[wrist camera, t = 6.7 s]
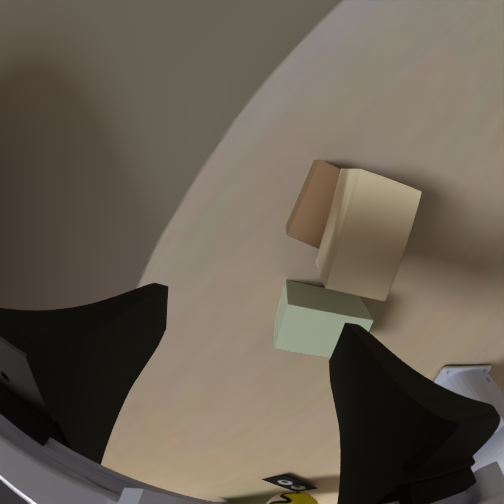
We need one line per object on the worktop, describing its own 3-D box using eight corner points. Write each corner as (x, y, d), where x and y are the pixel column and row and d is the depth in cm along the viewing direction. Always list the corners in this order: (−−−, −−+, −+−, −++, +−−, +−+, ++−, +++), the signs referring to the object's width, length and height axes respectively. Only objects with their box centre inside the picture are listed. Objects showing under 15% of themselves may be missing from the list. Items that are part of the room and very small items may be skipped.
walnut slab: (396, 203, 18) (413, 209, 16) (368, 261, 20) (381, 276, 17) (313, 160, 18) (319, 159, 15) (285, 225, 20) (286, 235, 17)
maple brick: (340, 168, 15) (360, 168, 12) (391, 185, 15) (421, 191, 12) (315, 262, 17) (325, 288, 13) (364, 274, 17) (385, 301, 13)
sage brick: (358, 294, 21) (373, 320, 17) (344, 331, 22) (354, 360, 18) (286, 279, 21) (287, 304, 17) (274, 318, 22) (274, 348, 18)
